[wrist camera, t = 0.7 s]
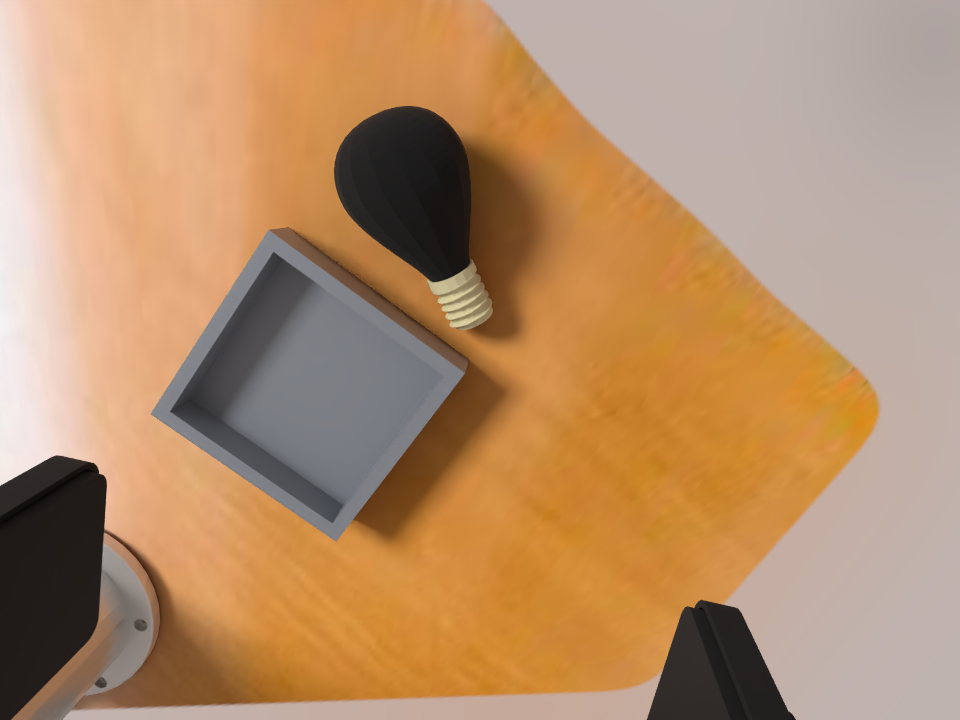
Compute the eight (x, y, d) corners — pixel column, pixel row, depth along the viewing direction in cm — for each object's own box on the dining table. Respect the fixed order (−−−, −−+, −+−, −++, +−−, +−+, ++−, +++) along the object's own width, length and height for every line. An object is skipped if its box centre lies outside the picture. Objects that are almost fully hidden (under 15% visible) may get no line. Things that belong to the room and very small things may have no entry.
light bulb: (494, 354, 33) (380, 118, 28) (399, 362, 37) (284, 159, 32) (552, 285, 37) (461, 70, 32) (460, 300, 42) (368, 112, 37)
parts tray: (349, 517, 42) (336, 541, 39) (177, 398, 41) (150, 414, 38) (469, 360, 39) (465, 373, 36) (288, 227, 38) (268, 229, 35)
